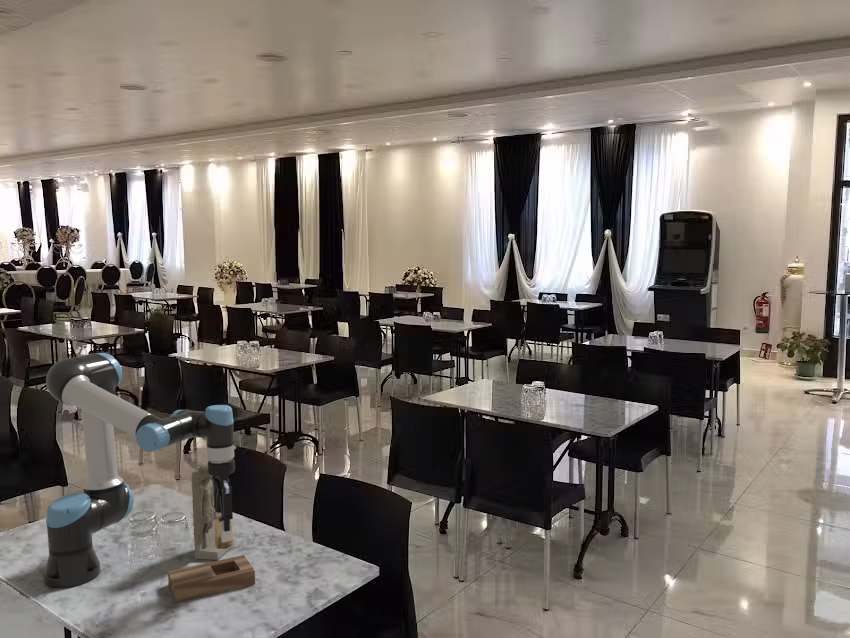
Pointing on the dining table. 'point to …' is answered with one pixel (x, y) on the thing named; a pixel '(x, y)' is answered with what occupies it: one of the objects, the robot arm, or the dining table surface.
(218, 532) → the bushing
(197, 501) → the sculpture
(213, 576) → the block
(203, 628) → the dining table surface
